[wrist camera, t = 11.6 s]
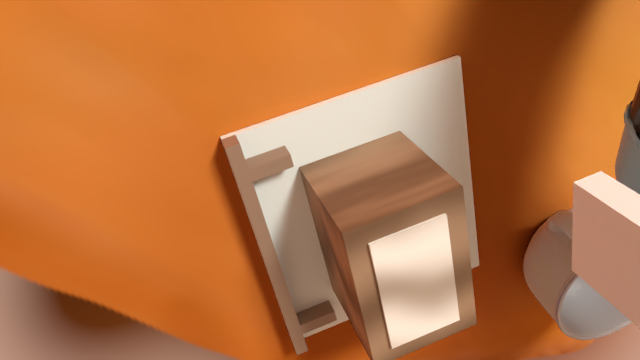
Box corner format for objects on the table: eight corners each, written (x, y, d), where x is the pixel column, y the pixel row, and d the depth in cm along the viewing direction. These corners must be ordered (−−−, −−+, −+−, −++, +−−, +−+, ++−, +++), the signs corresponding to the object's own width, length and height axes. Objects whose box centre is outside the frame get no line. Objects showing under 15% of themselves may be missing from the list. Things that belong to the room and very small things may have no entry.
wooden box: (298, 167, 41) (343, 235, 34) (399, 130, 43) (465, 188, 35) (332, 288, 48) (376, 370, 40) (419, 253, 49) (478, 326, 41)
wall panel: (457, 54, 42) (471, 62, 40) (476, 262, 52) (488, 275, 51) (220, 136, 39) (225, 148, 37) (290, 338, 49) (297, 355, 48)
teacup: (611, 250, 58) (677, 300, 51) (519, 306, 57) (574, 365, 51) (589, 143, 50) (664, 185, 43) (483, 207, 50) (542, 260, 43)
